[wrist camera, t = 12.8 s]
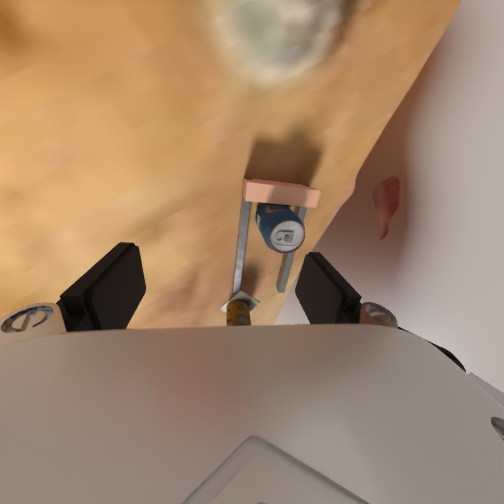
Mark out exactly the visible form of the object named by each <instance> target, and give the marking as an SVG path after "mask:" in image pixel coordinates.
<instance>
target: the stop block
mask: <svg viewBox="0 0 504 504" xmlns="http://www.w3.org/2000/svg"><path fill="white" fill-rule="evenodd" d="M252 179H253V178H252ZM242 192H243V193H242V194H243V197H244V199H245V201H252V202H262V203H272V204H282V205H292V206H302V207H312V208H316V206H317V203H318V200H319V196H320V193H321V191H320V190H318V189H315V188H313V187H306V186H303V185H301V184H294V183H286V182H278V181H269V180H261V179H253V180H248V179H245V178H244V181H243V190H242Z"/></svg>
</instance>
